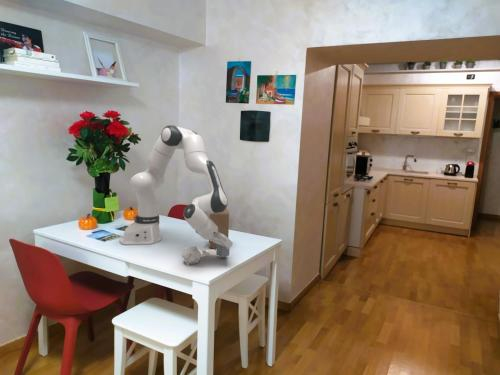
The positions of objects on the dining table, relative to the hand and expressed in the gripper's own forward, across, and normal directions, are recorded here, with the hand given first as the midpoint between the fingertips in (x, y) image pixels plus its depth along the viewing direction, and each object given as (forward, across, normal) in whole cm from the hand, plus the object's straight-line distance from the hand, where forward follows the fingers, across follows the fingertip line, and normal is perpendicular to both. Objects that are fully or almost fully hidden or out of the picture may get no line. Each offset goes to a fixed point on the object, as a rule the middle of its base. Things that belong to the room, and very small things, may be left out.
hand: (224, 246), depth 184 cm
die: (-7, +4, +16) cm, 18 cm away
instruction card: (+2, +11, +7) cm, 13 cm away
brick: (+3, 0, +4) cm, 5 cm away
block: (+11, +17, -2) cm, 20 cm away
